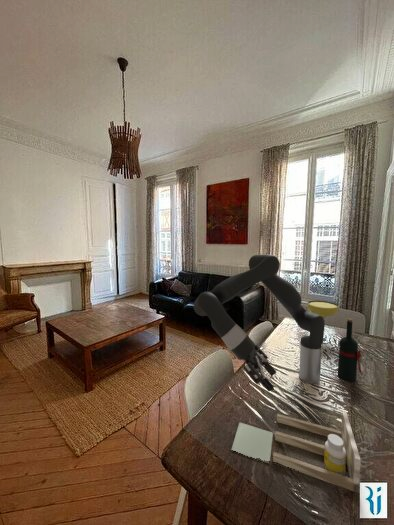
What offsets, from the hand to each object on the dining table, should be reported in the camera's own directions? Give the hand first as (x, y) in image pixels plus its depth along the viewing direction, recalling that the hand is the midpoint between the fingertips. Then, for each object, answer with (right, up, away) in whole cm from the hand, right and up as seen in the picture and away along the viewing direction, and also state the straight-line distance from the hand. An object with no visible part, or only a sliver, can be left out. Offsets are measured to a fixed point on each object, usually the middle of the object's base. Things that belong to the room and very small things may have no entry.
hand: (273, 381), depth 72 cm
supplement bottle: (+17, -24, -5) cm, 30 cm away
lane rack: (+13, -23, +1) cm, 27 cm away
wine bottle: (+51, -19, +38) cm, 66 cm away
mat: (-5, -23, +5) cm, 24 cm away
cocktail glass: (+60, -15, +81) cm, 102 cm away
